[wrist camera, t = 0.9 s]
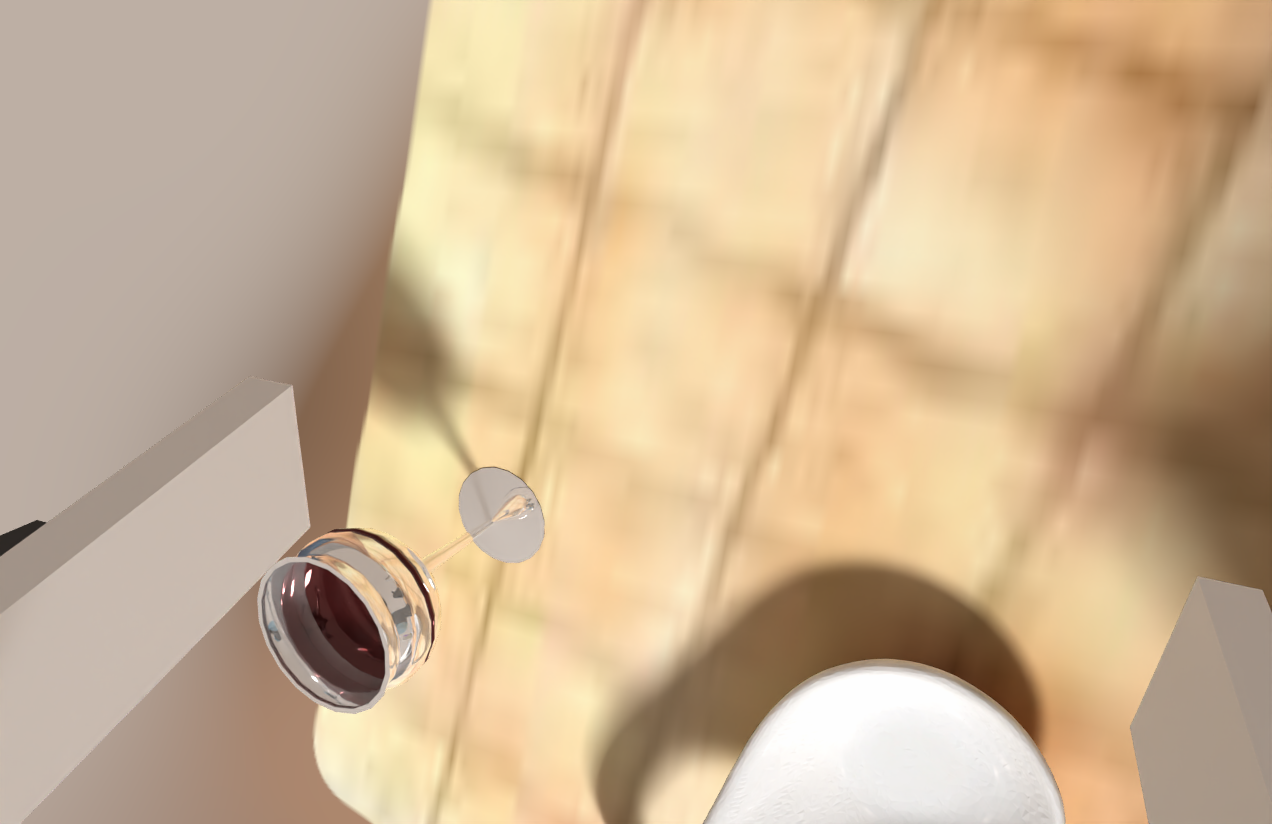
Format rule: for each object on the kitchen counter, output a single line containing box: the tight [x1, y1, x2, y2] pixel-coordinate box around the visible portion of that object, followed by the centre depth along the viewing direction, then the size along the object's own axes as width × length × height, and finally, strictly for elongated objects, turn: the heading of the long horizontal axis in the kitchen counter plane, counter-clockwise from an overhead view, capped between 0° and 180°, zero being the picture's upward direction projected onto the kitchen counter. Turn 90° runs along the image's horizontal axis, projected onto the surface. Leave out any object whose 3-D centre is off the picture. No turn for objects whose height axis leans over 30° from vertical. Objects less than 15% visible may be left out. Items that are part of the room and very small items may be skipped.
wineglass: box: [257, 468, 544, 714], centre depth 43 cm, size 7×7×12 cm
